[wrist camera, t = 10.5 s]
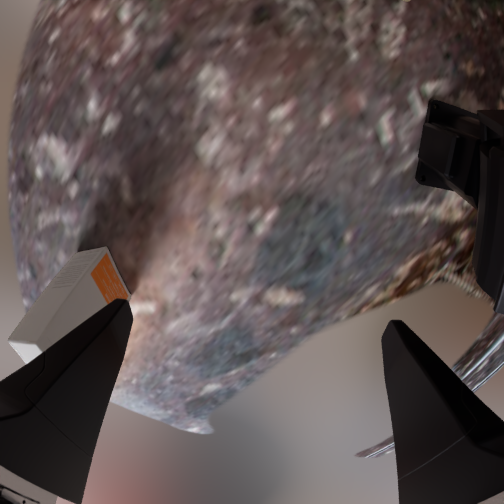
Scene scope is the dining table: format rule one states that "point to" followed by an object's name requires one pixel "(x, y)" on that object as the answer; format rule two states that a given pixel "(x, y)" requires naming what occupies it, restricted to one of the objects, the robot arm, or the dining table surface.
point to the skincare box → (69, 301)
